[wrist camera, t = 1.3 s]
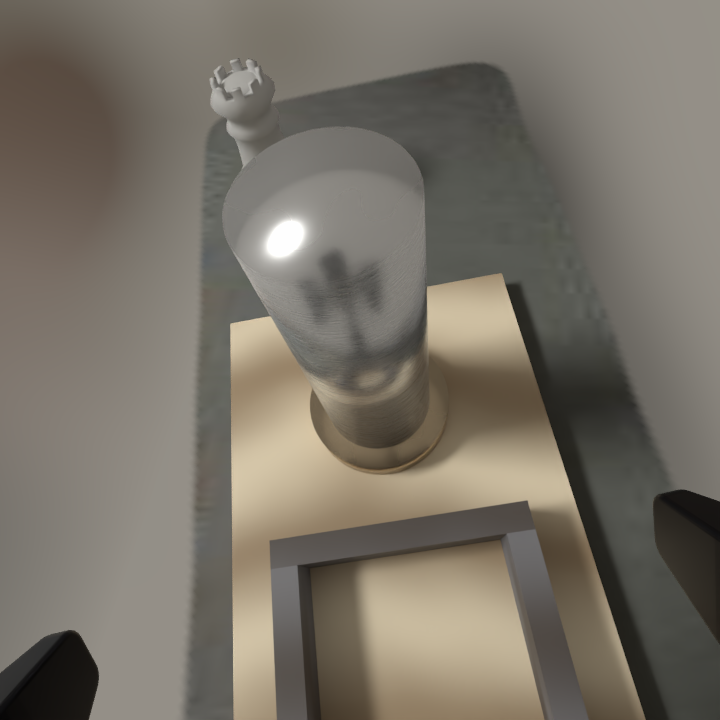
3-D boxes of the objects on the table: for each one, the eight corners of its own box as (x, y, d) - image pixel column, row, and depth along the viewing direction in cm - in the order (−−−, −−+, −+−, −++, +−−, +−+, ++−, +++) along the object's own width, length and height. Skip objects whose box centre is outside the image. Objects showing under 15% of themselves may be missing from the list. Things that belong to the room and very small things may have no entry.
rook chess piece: (333, 195, 30) (300, 67, 22) (277, 240, 29) (224, 121, 22) (287, 162, 31) (244, 34, 24) (233, 203, 30) (172, 82, 23)
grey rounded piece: (461, 462, 20) (496, 286, 9) (321, 485, 21) (181, 344, 9) (433, 339, 23) (432, 81, 12) (310, 361, 24) (191, 133, 12)
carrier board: (708, 948, 14) (771, 1028, 12) (247, 991, 15) (207, 1075, 13) (499, 284, 25) (506, 247, 23) (237, 333, 26) (215, 302, 23)
